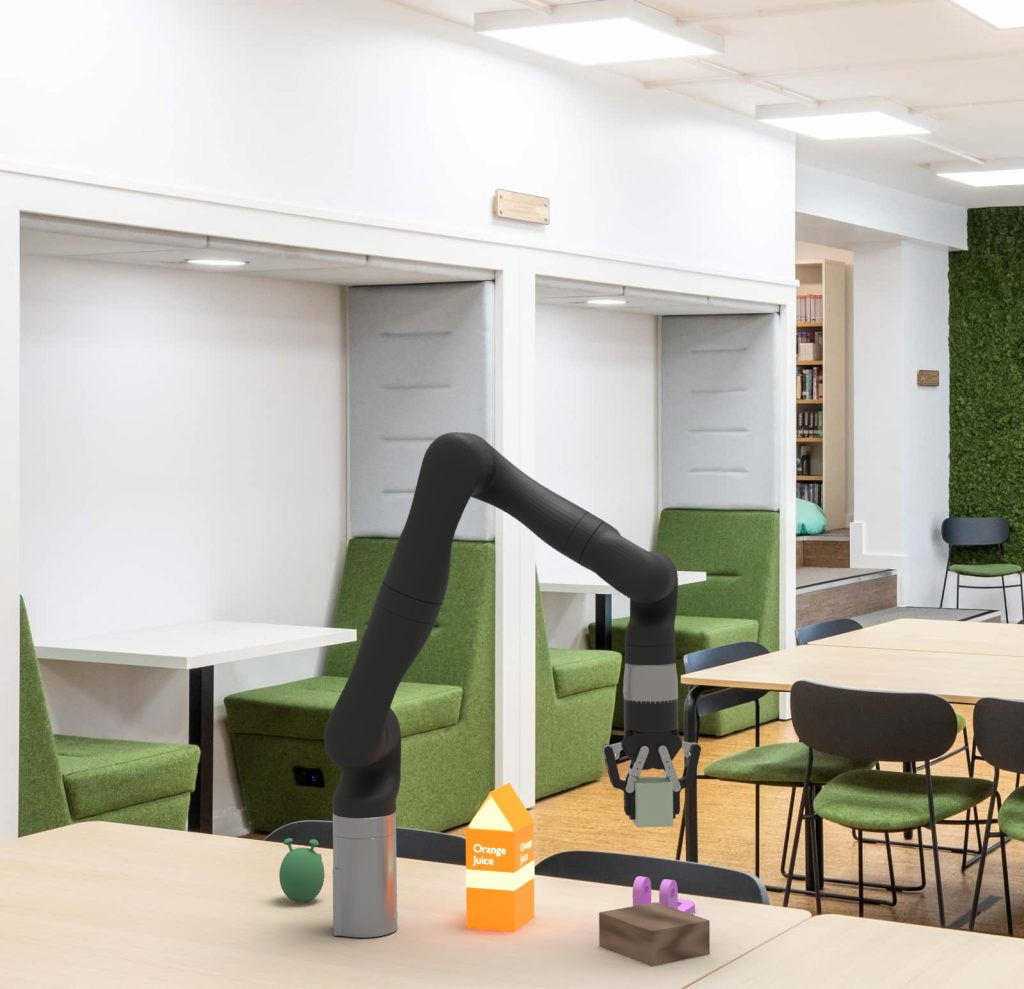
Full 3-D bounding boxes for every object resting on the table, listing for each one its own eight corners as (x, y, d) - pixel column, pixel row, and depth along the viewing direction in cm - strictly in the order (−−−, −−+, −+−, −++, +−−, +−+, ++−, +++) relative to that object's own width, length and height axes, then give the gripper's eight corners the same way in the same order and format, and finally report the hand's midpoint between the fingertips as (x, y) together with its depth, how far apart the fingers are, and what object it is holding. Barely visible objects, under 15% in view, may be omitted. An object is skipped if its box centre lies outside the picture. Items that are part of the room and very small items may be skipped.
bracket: (668, 931, 235) (668, 883, 235) (632, 926, 238) (632, 879, 238) (700, 910, 247) (699, 864, 247) (666, 906, 249) (665, 860, 249)
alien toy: (329, 895, 257) (329, 832, 257) (319, 908, 250) (318, 843, 250) (286, 895, 258) (285, 832, 258) (274, 907, 250) (274, 842, 250)
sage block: (637, 827, 222) (636, 783, 222) (631, 820, 227) (631, 777, 227) (673, 826, 222) (672, 782, 222) (666, 819, 227) (666, 776, 227)
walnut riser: (652, 968, 217) (651, 931, 217) (599, 948, 227) (599, 912, 227) (709, 956, 223) (709, 920, 223) (655, 937, 233) (655, 902, 233)
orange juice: (465, 927, 237) (464, 791, 237) (487, 912, 246) (485, 781, 246) (515, 932, 235) (514, 794, 235) (536, 917, 243) (534, 783, 243)
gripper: (603, 700, 220) (604, 825, 221) (707, 698, 222) (708, 822, 222) (595, 693, 228) (597, 814, 228) (696, 691, 229) (698, 811, 229)
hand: (652, 817), depth 225 cm, fingers closed on sage block, 5 cm apart
